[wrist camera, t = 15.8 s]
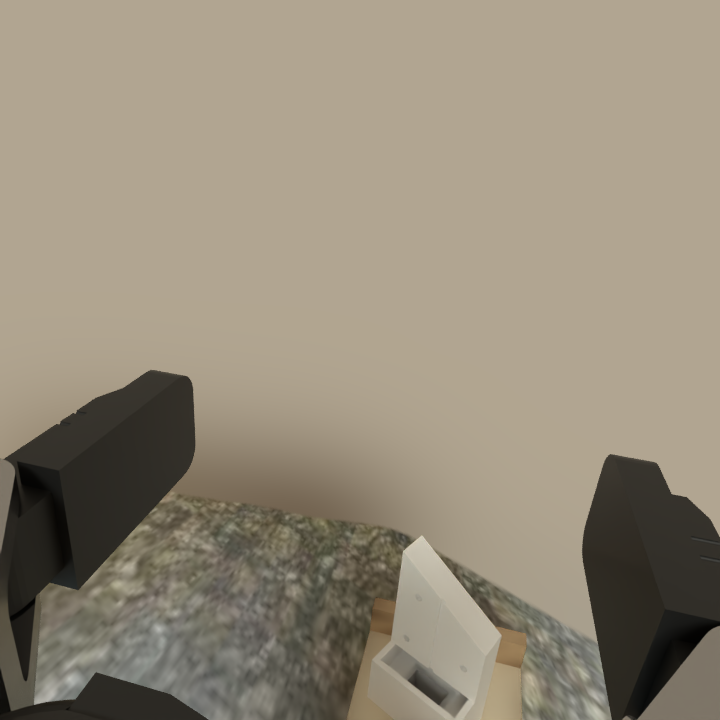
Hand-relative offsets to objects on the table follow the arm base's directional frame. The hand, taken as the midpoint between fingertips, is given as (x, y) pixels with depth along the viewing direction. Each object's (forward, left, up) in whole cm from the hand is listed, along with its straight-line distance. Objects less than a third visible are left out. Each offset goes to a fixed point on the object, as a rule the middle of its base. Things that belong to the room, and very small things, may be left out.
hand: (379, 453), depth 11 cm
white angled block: (+2, +14, -26) cm, 30 cm away
